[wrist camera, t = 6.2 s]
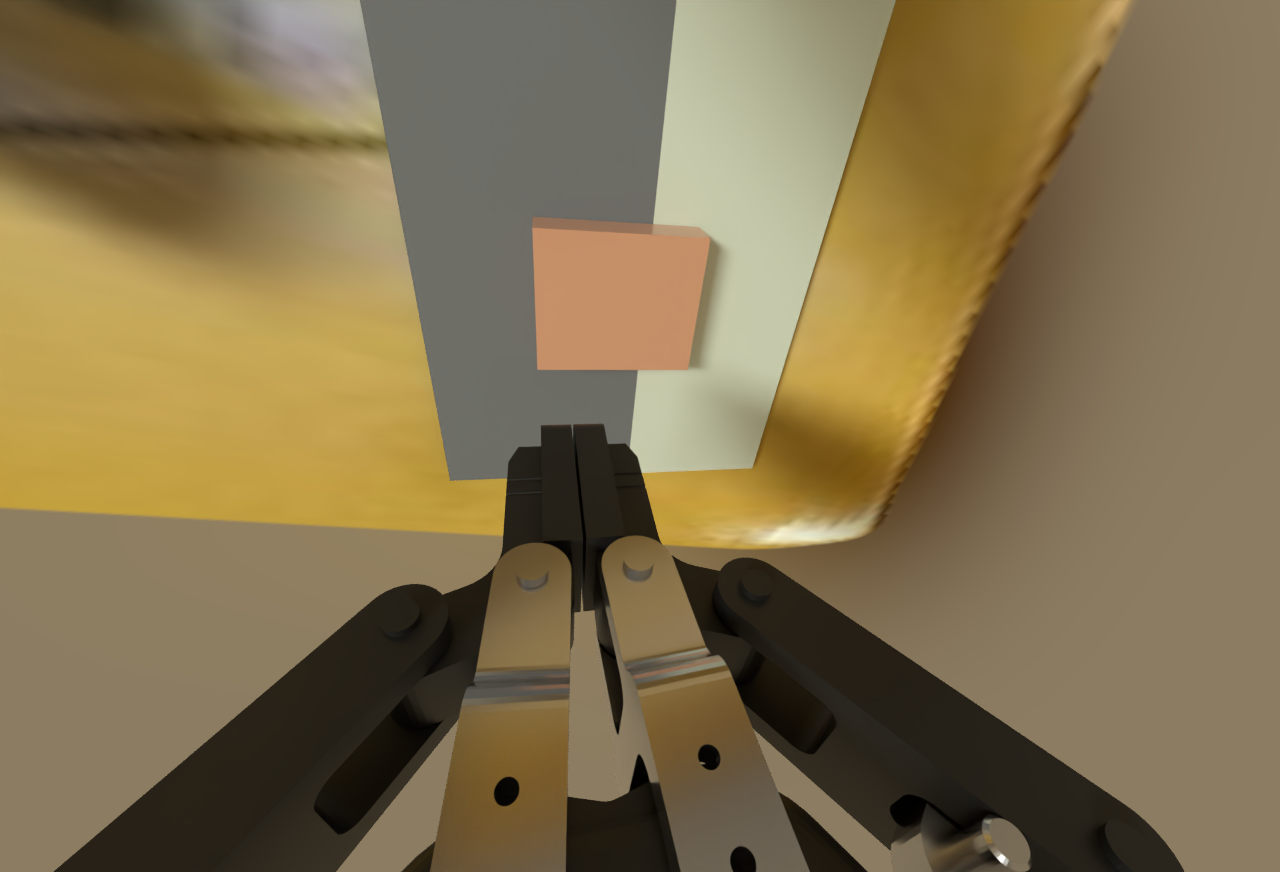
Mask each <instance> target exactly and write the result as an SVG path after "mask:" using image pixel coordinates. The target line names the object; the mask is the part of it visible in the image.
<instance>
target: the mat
mask: <svg viewBox="0 0 1280 872" xmlns="http://www.w3.org/2000/svg"><path fill="white" fill-rule="evenodd" d="M360 2H361V8H362V13H363V18H364V24H365V29H366V34H367V40H368V45H369V50H370V56H371V61H372V66H373V72H374V77H375V82H376V88H377V93H378V98H379V104H380V109H381V114H382V120H383V125H384V130H385V136H386V141H387V146H388V151H389V157H390V162H391V167H392V173H393V178H394V183H395V189H396V194H397V199H398V205H399V210H400V215H401V221H402V226H403V231H404V237H405V242H406V247H407V253H408V258H409V263H410V269H411V274H412V279H413V285H414V290H415V295H416V301H417V306H418V311H419V317H420V322H421V327H422V333H423V338H424V343H425V349H426V354H427V359H428V365H429V370H430V375H431V381H432V386H433V391H434V396H435V402H436V407H437V412H438V418H439V423H440V428H441V434H442V439H443V444H444V450H445V455H446V460H447V466H448V471H449V476H450V481H451V480H476V479H500V478H507V474H508V462H509V460H510V459H511V457H512V456H513V454H514V453H515V451H516V450H517V448H518V447H533V446H541V425H564V424H571V427H572V436H573V424H600V423H603V424H604V427H605V432H606V437H607V443H608V444H620V443H626V444H627V446H628V447H629V448H630V449H631V450H632V451H633V452H634V453H635V454H636V456H637V457H638V460H639V464H640V468H641V472H642V473H647V472H672V471H696V470H721V469H745V468H753V464H754V461H755V458H756V454H757V451H758V448H759V445H760V441H761V438H762V435H763V432H764V428H765V425H766V422H767V419H768V415H769V412H770V409H771V406H772V402H773V399H774V396H775V393H776V389H777V386H778V383H779V380H780V376H781V373H782V370H783V367H784V363H785V360H786V357H787V354H788V350H789V347H790V344H791V340H792V337H793V334H794V331H795V327H796V324H797V321H798V318H799V314H800V311H801V308H802V305H803V301H804V298H805V295H806V292H807V288H808V285H809V282H810V279H811V275H812V272H813V269H814V266H815V262H816V259H817V256H818V253H819V249H820V246H821V243H822V240H823V236H824V233H825V230H826V226H827V223H828V220H829V217H830V213H831V210H832V207H833V204H834V200H835V197H836V194H837V191H838V187H839V184H840V181H841V178H842V174H843V171H844V168H845V165H846V161H847V158H848V155H849V152H850V148H851V145H852V142H853V139H854V135H855V132H856V129H857V126H858V122H859V119H860V116H861V112H862V109H863V106H864V103H865V99H866V96H867V93H868V90H869V86H870V83H871V80H872V77H873V73H874V70H875V67H876V64H877V60H878V57H879V54H880V51H881V47H882V44H883V41H884V38H885V34H886V31H887V28H888V25H889V21H890V18H891V15H892V12H893V8H894V5H895V2H896V0H360ZM533 217H547V218H564V219H580V220H596V221H612V222H628V223H644V224H660V225H676V226H692V227H699V228H700V229H701V230H703V231H704V232H705V233H706V234H707V235H708V236H709V237H710V238H711V239H710V245H709V250H708V256H707V262H706V268H705V273H704V279H703V285H702V291H701V296H700V302H699V308H698V314H697V319H696V325H695V331H694V336H693V342H692V348H691V354H690V359H689V365H688V370H537V343H536V316H535V288H534V261H533V233H532V222H533Z"/></svg>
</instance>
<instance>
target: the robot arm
mask: <svg viewBox="0 0 1280 872" xmlns="http://www.w3.org/2000/svg"><path fill="white" fill-rule="evenodd" d="M581 588H582V598H583V610H584V611H591V610H595V619H596V628H597V633H596V650H597V656H598V661H599V666H600V672H601V677H602V683H603V688H604V693H605V698H606V704H607V709H608V714H609V720H610V726H611V730H612V736H613V744H614V754H615V769H616V777H617V785H618V791H619V798H617V799H615V800H612V801H608V802H601V801H594V800H587V799H579V798H573V797H568V752H569V751H568V750H569V697H570V695H569V694H570V650H571V648H572V645H573V640H574V612H580V608H581ZM458 719H459V720H458ZM457 720H458V725H457V731H456V736H455V741H454V747H453V752H452V758H451V763H450V768H449V773H448V778H447V784H446V789H445V795H444V800H443V805H442V810H441V816H440V821H439V827H438V832H437V837H436V841H435V842H434V843H433V844H432V845H430V846H429V847H428V848H427V849H426V850H424V851H423V852H422V853H420V854H419V855H418V856H417V857H416V858H415V859H414V860H413V861H412V862H411V863H410V864H409V865H408V866H407V867H406V868H405V869H404V870H403V871H402V872H867V871H866V870H865V869H864V868H863V867H862V866H861V865H860V864H859V863H858V862H857V861H856V860H855V859H854V858H853V857H852V856H851V855H850V854H849V853H848V852H847V851H846V850H845V849H844V848H843V847H842V846H841V845H840V844H839V843H838V842H837V841H836V840H835V839H834V838H833V837H832V836H831V835H830V834H829V833H828V832H827V831H825V829H824V828H823V827H822V826H821V825H820V824H819V823H818V822H817V821H815V820H814V819H813V818H812V817H811V816H810V815H809V814H808V813H807V812H806V811H805V810H804V809H802V808H801V807H799V806H798V805H797V804H796V803H795V802H793V801H792V800H790V799H789V798H788V797H786V796H784V795H783V794H781V793H779V792H778V790H777V788H776V786H775V783H774V780H773V778H772V776H771V773H770V771H769V768H768V765H767V763H766V760H765V758H764V755H763V753H762V750H761V748H760V745H759V743H758V740H757V738H756V735H755V733H754V730H755V731H756V732H758V733H759V734H760V735H761V736H762V737H763V738H764V739H765V740H767V741H768V742H769V743H770V744H771V745H772V746H773V747H774V748H776V749H777V750H778V751H779V752H780V753H781V754H782V755H783V756H785V757H786V758H787V759H788V760H789V761H790V762H791V763H792V764H793V765H795V766H796V767H797V768H798V769H799V770H800V771H801V772H802V773H804V774H805V775H806V776H807V777H808V778H809V779H811V781H813V782H814V783H815V784H816V785H817V786H818V787H819V788H821V789H822V790H823V791H824V792H825V793H826V794H827V795H828V796H829V797H831V798H832V799H833V800H834V801H835V802H836V803H837V804H838V805H840V806H841V807H842V808H843V809H844V810H845V811H846V812H847V813H849V814H850V815H851V816H852V817H853V818H854V819H856V820H857V821H858V822H859V823H860V824H861V825H862V826H863V827H864V828H866V829H867V830H868V831H869V832H870V833H871V834H872V835H873V836H874V837H876V838H877V839H878V840H879V841H880V842H881V843H882V844H883V845H885V846H886V847H887V848H888V849H889V850H890V851H891V861H892V866H893V871H894V872H1184V870H1183V868H1182V866H1181V865H1180V863H1179V861H1178V860H1177V858H1176V857H1175V855H1174V853H1173V852H1172V851H1171V849H1170V848H1169V847H1168V845H1167V844H1166V843H1165V842H1164V840H1163V839H1162V838H1161V837H1160V836H1159V835H1158V834H1157V832H1156V831H1155V830H1154V829H1153V828H1152V827H1151V826H1150V825H1149V824H1148V823H1147V822H1146V821H1145V820H1143V819H1142V818H1141V817H1140V816H1139V815H1138V814H1137V813H1135V812H1134V811H1133V810H1131V809H1130V808H1129V807H1127V806H1126V805H1125V804H1123V803H1121V802H1120V801H1119V800H1117V799H1116V798H1114V797H1112V796H1111V795H1110V794H1108V793H1107V792H1105V791H1104V790H1102V789H1101V788H1100V787H1098V786H1097V785H1095V784H1094V783H1092V782H1090V781H1089V780H1088V779H1086V778H1085V777H1083V776H1082V775H1080V774H1079V773H1077V772H1076V771H1074V770H1073V769H1071V768H1070V767H1069V766H1067V765H1066V764H1064V763H1063V762H1061V761H1060V760H1058V759H1057V758H1055V757H1054V756H1052V755H1051V754H1049V753H1047V752H1046V751H1045V750H1043V749H1042V748H1040V747H1039V746H1038V745H1036V744H1035V743H1033V742H1032V741H1030V740H1029V739H1027V738H1026V737H1024V736H1023V735H1021V734H1020V733H1018V732H1017V731H1015V730H1014V729H1012V728H1011V727H1009V726H1008V725H1007V724H1005V723H1003V722H1002V721H1001V720H999V719H998V718H996V717H995V716H993V715H992V714H990V713H989V712H987V711H986V710H984V709H983V708H981V707H980V706H978V705H977V704H975V703H974V702H973V701H971V700H970V699H968V698H967V697H965V696H964V695H962V694H961V693H959V692H958V691H956V690H955V689H953V688H952V687H950V686H949V685H947V684H946V683H944V682H943V681H942V680H940V679H939V678H937V677H935V676H934V675H933V674H931V673H930V672H928V671H927V670H925V669H923V668H922V667H921V666H919V665H918V664H916V663H915V662H913V661H912V660H911V659H909V658H908V657H906V656H905V655H903V654H902V653H900V652H899V651H897V650H896V649H894V648H893V647H891V646H890V645H888V644H887V643H885V642H884V641H882V640H881V639H880V638H878V637H877V636H875V635H873V634H872V633H871V632H869V631H868V630H866V629H865V628H863V627H862V626H860V625H859V624H857V623H856V622H854V621H853V620H851V619H850V618H848V617H847V616H845V615H844V614H843V613H841V612H839V611H838V610H837V609H835V608H834V607H832V606H831V605H829V604H828V603H826V602H825V601H823V600H822V599H820V598H819V597H817V596H816V595H814V594H813V593H812V592H810V591H808V590H807V589H806V588H804V587H802V586H801V585H800V584H798V583H797V582H795V581H794V580H792V579H791V578H789V577H788V576H786V575H785V574H783V573H782V572H781V571H779V570H778V569H776V568H775V567H773V566H771V565H770V564H768V563H766V562H764V561H761V560H758V559H753V558H738V559H734V560H732V561H730V562H728V563H727V564H725V565H724V566H723V568H722V569H721V571H717V570H712V569H708V568H703V567H698V566H693V565H690V564H687V563H684V562H682V561H680V560H678V559H677V558H675V557H674V556H672V555H671V554H670V552H669V551H668V550H667V549H666V548H665V546H664V545H662V543H661V541H660V539H659V536H658V533H657V529H656V525H655V521H654V517H653V514H652V510H651V506H650V502H649V498H648V495H647V491H646V489H645V483H644V479H643V476H642V472H641V468H640V464H639V460H638V457H637V456H636V454H635V453H634V452H633V451H632V450H631V449H630V448H629V447H628V446H627V444H626V443H620V444H608V443H607V437H606V432H605V427H604V424H603V423H600V424H573V436H572V427H571V424H564V425H541V446H533V447H518V448H517V450H516V451H515V453H514V454H513V456H512V457H511V459H510V460H509V462H508V474H507V489H506V504H505V519H504V534H503V548H502V553H501V556H500V559H499V561H498V562H497V564H496V565H495V566H494V568H493V569H492V570H491V571H490V572H489V573H488V574H487V575H486V576H484V577H483V578H481V579H480V580H478V581H477V582H475V583H473V584H470V585H468V586H465V587H463V588H460V589H457V590H454V591H452V592H449V593H446V594H444V595H442V594H441V593H440V592H439V591H437V590H436V589H434V588H432V587H430V586H426V585H421V584H409V585H404V586H400V587H396V588H393V589H391V590H389V591H386V592H384V593H383V594H381V595H379V596H378V597H377V598H375V599H374V600H373V601H371V602H370V603H369V604H368V605H367V606H366V607H364V608H363V609H362V610H361V611H360V612H358V613H357V614H356V615H355V616H354V617H353V618H351V619H350V620H349V621H348V622H347V623H345V624H344V625H343V626H342V627H341V628H340V629H339V630H337V631H336V632H335V633H334V634H333V635H331V636H330V637H329V638H328V639H327V640H326V641H324V642H323V643H322V644H321V645H320V646H319V647H318V648H316V649H315V650H314V651H313V652H311V653H310V654H309V655H308V656H307V657H306V658H305V659H303V660H302V661H301V662H300V663H298V664H297V665H296V666H295V667H294V668H293V669H291V670H290V671H289V672H288V673H287V674H285V675H284V676H283V677H282V678H281V679H280V680H278V681H277V682H276V683H275V684H274V685H273V686H271V687H270V688H269V689H268V690H267V691H266V692H264V693H263V694H262V695H261V696H260V697H259V698H257V699H256V700H255V701H254V702H253V703H251V704H250V705H249V706H248V707H247V708H245V709H244V710H243V711H242V712H241V713H240V714H238V715H237V716H236V717H235V718H234V719H233V720H231V721H230V722H229V723H228V724H227V725H226V726H224V727H223V728H222V729H221V730H220V731H218V732H217V733H216V734H215V735H214V736H213V737H211V738H210V739H209V740H208V741H207V742H206V743H204V744H203V745H202V746H201V747H200V748H198V749H197V750H196V751H195V752H194V753H193V754H191V755H190V756H189V757H188V758H187V759H186V760H185V761H183V762H182V763H181V764H180V765H178V766H177V767H176V768H175V769H174V770H173V771H171V772H170V773H169V774H168V775H167V776H166V777H164V778H163V779H162V780H161V781H160V782H158V783H157V784H156V785H155V786H154V787H153V788H151V789H150V790H149V791H148V792H147V793H146V794H144V795H143V796H142V797H141V798H140V799H138V800H137V801H136V802H135V803H134V804H133V805H131V806H130V807H129V808H128V809H127V810H126V811H125V812H123V813H122V814H121V815H120V816H119V817H117V818H116V819H115V820H114V821H113V822H112V823H110V824H109V825H108V826H107V827H106V828H104V829H103V830H102V831H101V832H100V833H98V834H97V835H96V836H95V837H94V838H93V839H91V840H90V841H89V842H88V843H87V844H86V845H84V847H82V848H81V849H80V850H78V851H77V852H76V853H75V854H74V855H73V856H71V857H70V858H69V859H68V860H67V861H66V862H64V863H63V864H62V865H61V866H60V867H58V868H57V869H56V870H55V871H54V872H336V871H337V870H338V868H339V867H340V866H341V865H342V863H343V862H344V861H345V860H346V859H347V857H348V856H349V855H350V854H351V852H352V851H353V850H354V849H355V847H356V846H357V845H358V843H359V842H360V841H361V840H362V839H363V837H364V836H365V835H366V834H367V832H368V831H369V830H370V829H371V827H372V826H373V825H374V824H375V822H376V821H377V820H378V819H379V817H380V816H381V815H382V814H383V812H384V811H385V810H386V808H387V807H388V806H389V805H390V804H391V802H392V801H393V800H394V799H395V797H396V796H397V795H398V794H399V793H400V791H401V790H402V789H403V788H404V786H405V785H406V784H407V783H408V781H409V780H410V779H411V778H412V776H413V775H414V774H415V773H416V771H417V770H418V769H419V768H420V766H421V765H422V764H423V763H424V761H425V760H426V759H427V757H428V756H429V755H430V754H431V753H432V751H433V750H434V749H435V748H436V746H437V745H438V744H439V743H440V741H441V740H442V739H443V738H444V736H445V735H446V734H447V733H448V732H449V730H450V729H451V728H452V727H453V725H454V724H455V723H456V722H457ZM753 729H754V730H753Z"/></svg>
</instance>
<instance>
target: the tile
mask: <svg viewBox="0 0 1280 872" xmlns="http://www.w3.org/2000/svg"><path fill="white" fill-rule="evenodd" d="M532 233H533V261H534V288H535V316H536V343H537V370H688V365H689V359H690V354H691V348H692V342H693V336H694V331H695V325H696V319H697V314H698V308H699V302H700V296H701V291H702V285H703V279H704V273H705V268H706V262H707V256H708V250H709V245H710V239H711V238H710V237H709V236H708V235H707V234H706V233H705V232H704V231H703V230H701V229H700V228H699V227H692V226H676V225H660V224H644V223H628V222H612V221H596V220H580V219H564V218H547V217H533V222H532Z"/></svg>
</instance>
